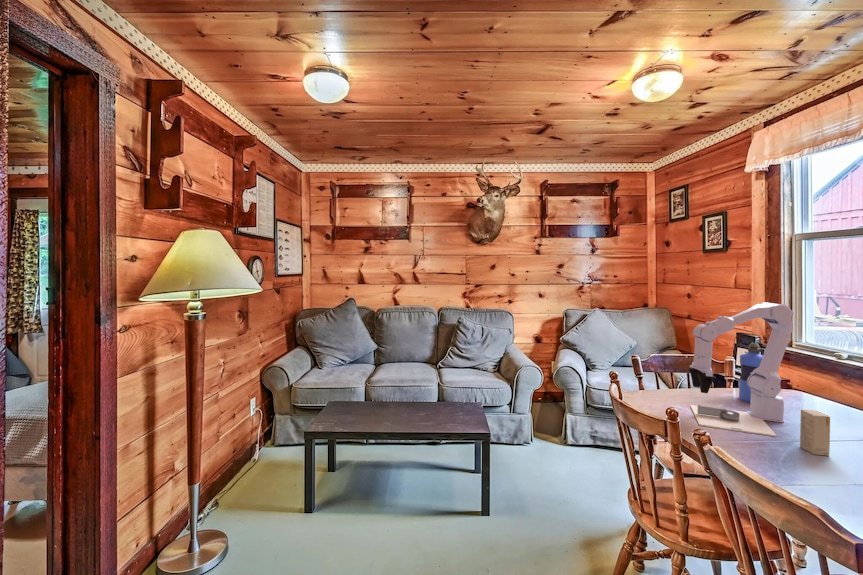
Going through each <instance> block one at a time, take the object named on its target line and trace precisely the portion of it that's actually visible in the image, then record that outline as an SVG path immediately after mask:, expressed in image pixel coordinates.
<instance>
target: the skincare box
mask: <svg viewBox="0 0 863 575" xmlns="http://www.w3.org/2000/svg"><path fill="white" fill-rule="evenodd" d="M799 430H800V431H799V434H800V435H799V447H800V448H802V449H804V450H805V451H807V452H808V453H811V454H813V455H816V456H817V455H818V456H819V455H820V456H830V449H831V447H830V446H831V445H830V444H831V443H830V442H831V441H830V440H831V438H830V437H831V416H829V415H828V414H825V413H823V412H820V411H818V410H816V409H815V410H814V409H800V425H799Z"/></svg>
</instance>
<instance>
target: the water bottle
mask: <svg viewBox="0 0 863 575" xmlns="http://www.w3.org/2000/svg"><path fill="white" fill-rule="evenodd" d="M760 347H761V346H760V345H759V344H758V343H757V342H751V343H749V344H748V347H747V352H746V353H744V354H743V353H742V354H740V355H739V364H740V372H741V373H740V376H739V385H738V391H739V392H738V399H739V400H740V401H742V402H745V403H749V404H750V402H751V391H750V387H749V386H748V385H747V379H748V377H749V376H750V375H751V374H752V372H753V370H755V369H756V368H758V367H759V366H760V363H761V360H762V357H763V355H764V354H761V348H760Z"/></svg>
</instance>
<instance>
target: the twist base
mask: <svg viewBox="0 0 863 575" xmlns="http://www.w3.org/2000/svg"><path fill="white" fill-rule="evenodd" d="M690 408H691V411H692V413H693V415H694V417H695V420H696V422H697V424H698V425H699V427H708V428H714V429H721V430H727V431H733V432H734V431H735V432H740V433H748V434H756V435H762V436H770V437H776V438H777V434H776V433H775V432H774V430H772V428H771V427H770V426H769V425H768V424H767V423H766V422H765V420H763V419H759V418H752V417H751V416H750V415H749V413H748V412H747V411H742V410H741V411H740V410H732V409H730V410H731V411H735V412H738V413H739V414H740V416H739V421H730V420H725V419H723V418H721V417H718V416H711V415H703V414H698V413H697V410H698V405H693V404H692V405H691V404H690Z"/></svg>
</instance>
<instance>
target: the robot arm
mask: <svg viewBox="0 0 863 575" xmlns="http://www.w3.org/2000/svg"><path fill="white" fill-rule="evenodd" d="M793 315H794V312H793V311H792V309H791V308H790V307H789V306H788V305H786V304H783V303H772V302H769V301H768V302H767V301H763V302H761V303H757V304H754V305H753V306H752V307H750V308H747V309H745V310H743V311H741V312H739V313H737V314H735V315H732V316H730V317H729V316H726V315H724V316H723V315H719V316H718V317H717V318H716V319H713V320H710V321H708V320H707V321H706V322H705V324H703V323H701V324H697V325H696V326H695V327H694V328H693V330H692V333H691V334H692V335H693V337H694V351H693V361H692V362H691V364H690V365H689V368H687V370H688V372H689V374H690V377H691V381H692V387H694V388H699V390H700V393H701V394H709V391H710V389H711V386H712V384H713V382H714V381H715V380H716V379H717V378H716V376H715V375H714V371H713V369H712V358H713V346H714V345H713V344H714V341H715V340H716V339H717V337H718V336H721V335H722V334H726V333H728V332H731V331H732V330H735V327H736V326H737V325H740V324H743V323H745V322H749V321H752V320H754V319H762V320H763V321H765V322H766V323H767V324H768V325H769V326H770V327H771V332H770V335H769V337H768V341H767V343H766V346H765V350H764V352H763V354H762V355H763V357H762V360H761V363H760V366H759V367H758V368H756V369H755V370H753V372H752V374H751V375H750V376H749V377H748V379H747V385H748V386H749V387H750V391H751V402H750V403H749V404H750V405H749V406H750V407H749V410H746V412H748V413H749V415H750V416H751V417H752V418H759V419H763V421H769V422H776V423H777V422H778V423H784V410H785V408H784V407H785V404H784V403H785V402H784V399H783V397H782V396H780V393H781V390H782V387H781V381H782V378H781V376H780V375H779V372H778V371H779V369H780V366H781V363H782V361H783V358H784V355H785V353H786V349H787V346H788V344H789V341H790V338H791V334H792V332H793V330H794V327H793V326H794V325H793Z"/></svg>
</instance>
